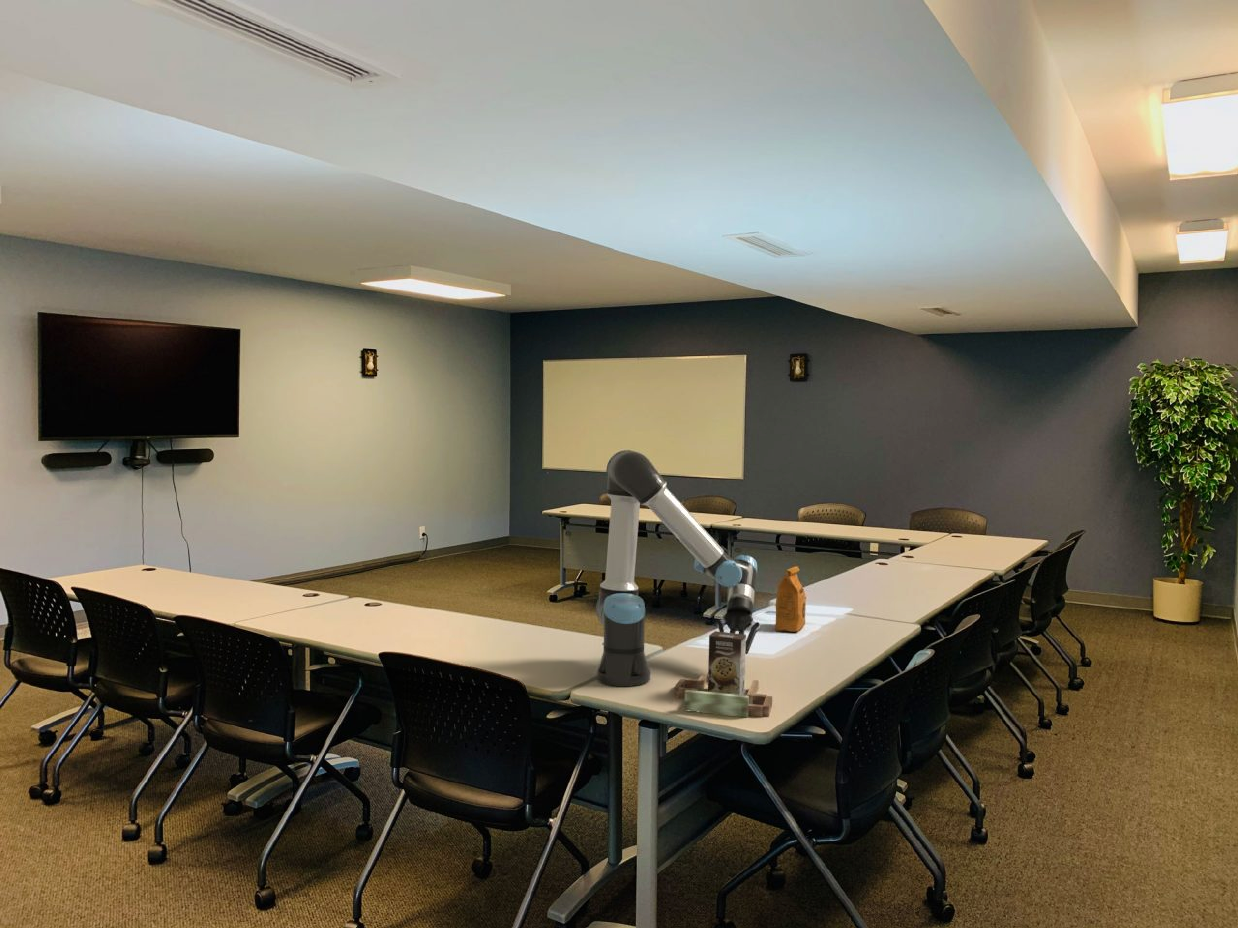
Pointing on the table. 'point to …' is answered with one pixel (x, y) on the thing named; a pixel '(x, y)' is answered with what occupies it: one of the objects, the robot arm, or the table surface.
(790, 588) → the coffee package
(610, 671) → the robot arm
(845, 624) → the table surface
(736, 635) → the coffee box
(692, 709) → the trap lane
